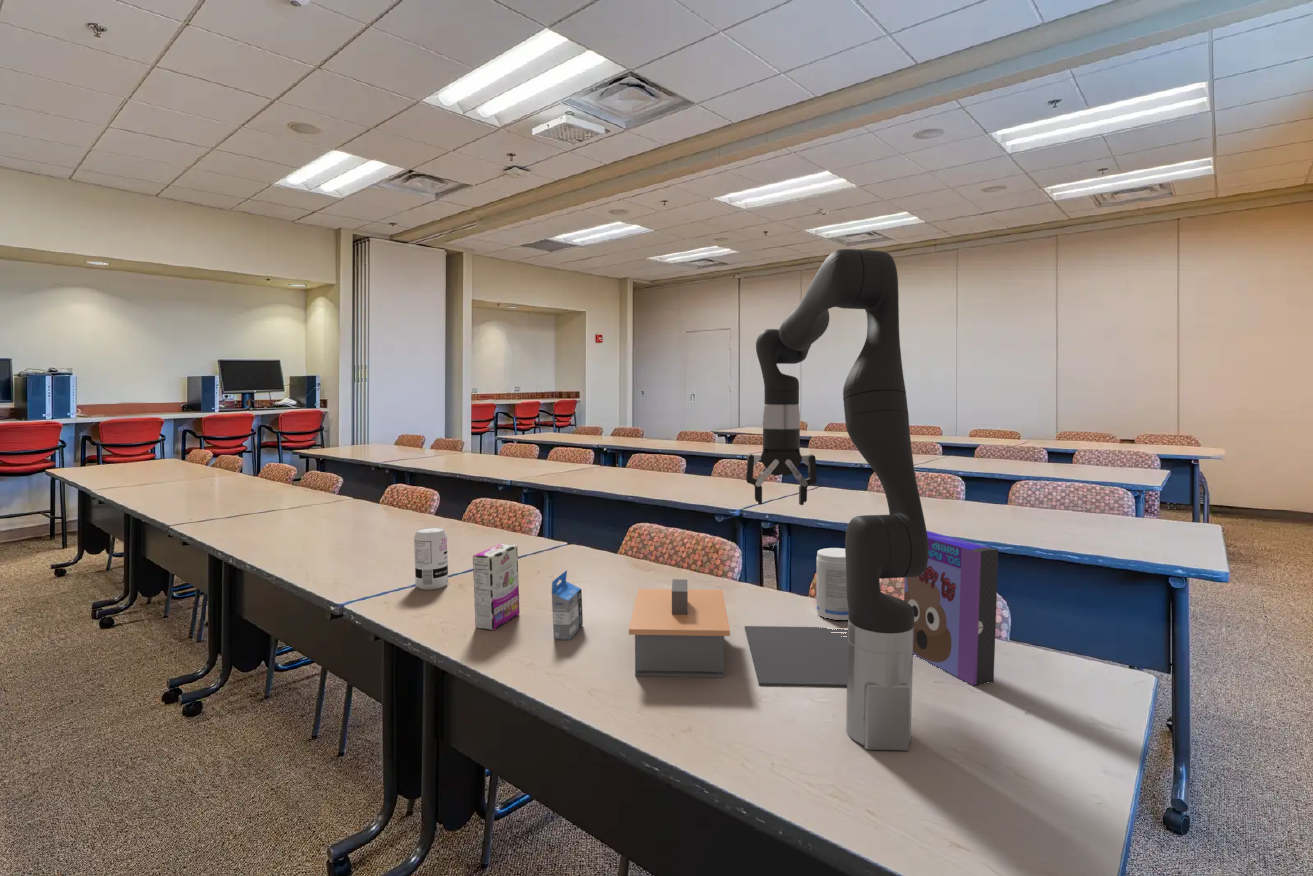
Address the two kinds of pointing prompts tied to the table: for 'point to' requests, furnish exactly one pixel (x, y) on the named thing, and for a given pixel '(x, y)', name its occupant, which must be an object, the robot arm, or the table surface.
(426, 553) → the supplement can
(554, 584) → the label tape box
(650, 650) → the storage box
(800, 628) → the rubber mat
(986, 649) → the cereal box
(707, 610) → the lid
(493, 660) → the table surface
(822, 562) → the supplement tub
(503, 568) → the candy bar box
